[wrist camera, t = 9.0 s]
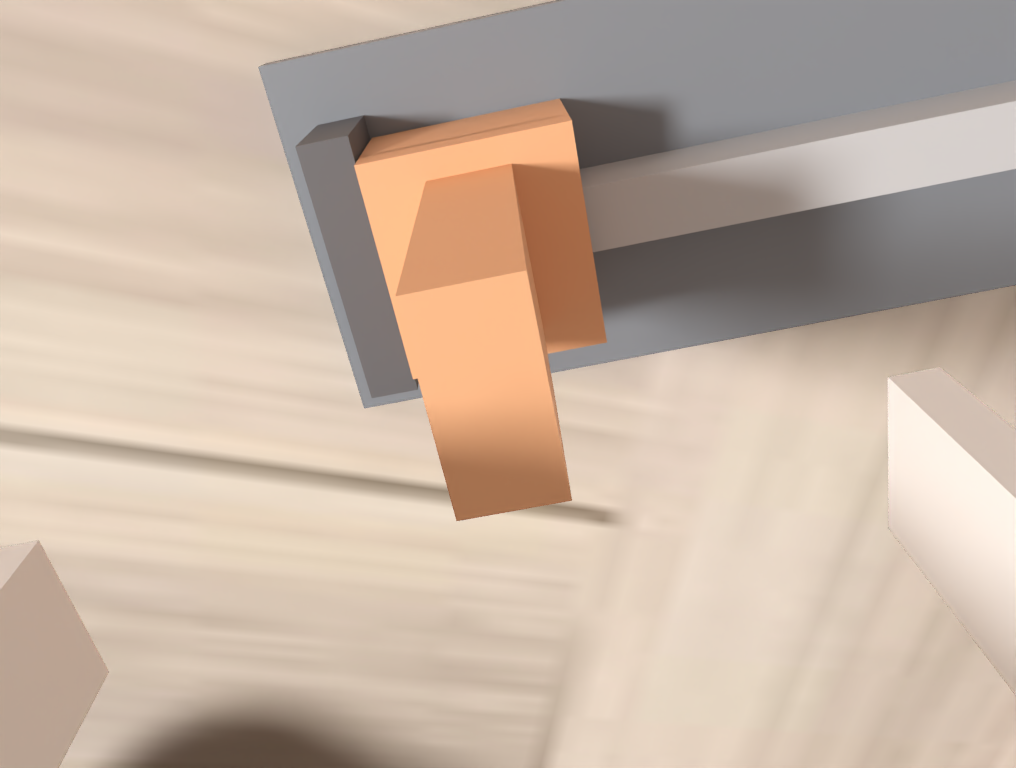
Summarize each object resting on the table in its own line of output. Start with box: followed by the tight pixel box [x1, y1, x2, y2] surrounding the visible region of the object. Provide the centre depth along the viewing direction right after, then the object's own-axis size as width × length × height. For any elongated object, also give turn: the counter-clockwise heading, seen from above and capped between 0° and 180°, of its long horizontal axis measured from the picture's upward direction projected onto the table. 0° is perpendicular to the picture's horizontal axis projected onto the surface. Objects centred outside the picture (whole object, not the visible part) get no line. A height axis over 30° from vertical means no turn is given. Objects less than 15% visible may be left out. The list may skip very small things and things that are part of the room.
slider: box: [354, 99, 607, 521], centre depth 22 cm, size 6×7×13 cm
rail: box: [258, 0, 1016, 408], centre depth 27 cm, size 25×12×4 cm, turn 101°
